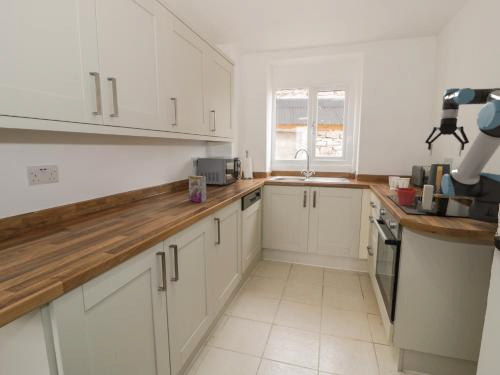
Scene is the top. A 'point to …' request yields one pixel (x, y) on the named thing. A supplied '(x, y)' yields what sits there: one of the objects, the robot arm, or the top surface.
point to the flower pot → (406, 196)
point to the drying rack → (433, 209)
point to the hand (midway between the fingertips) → (444, 155)
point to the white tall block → (427, 197)
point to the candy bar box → (197, 188)
